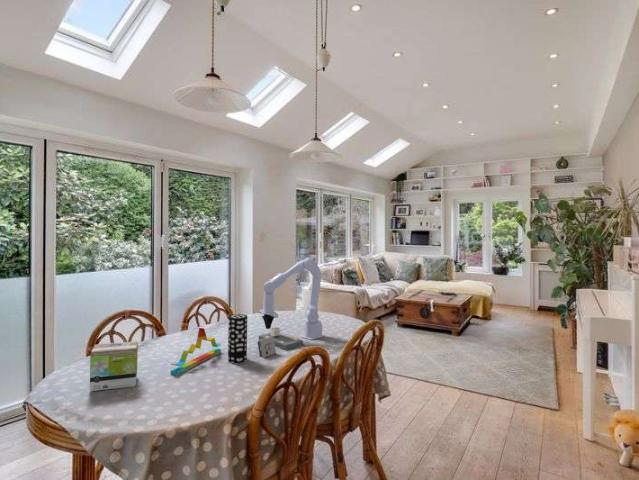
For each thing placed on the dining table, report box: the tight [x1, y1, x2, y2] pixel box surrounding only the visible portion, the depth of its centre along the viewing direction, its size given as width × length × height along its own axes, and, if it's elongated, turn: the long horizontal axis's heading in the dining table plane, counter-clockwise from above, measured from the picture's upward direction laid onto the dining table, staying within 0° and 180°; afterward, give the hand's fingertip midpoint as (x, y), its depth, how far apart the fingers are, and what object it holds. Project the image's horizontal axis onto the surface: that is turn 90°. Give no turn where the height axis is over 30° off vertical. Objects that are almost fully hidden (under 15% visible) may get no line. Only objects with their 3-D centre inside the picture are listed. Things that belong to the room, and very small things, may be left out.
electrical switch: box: [257, 336, 277, 358], centre depth 175 cm, size 8×5×8 cm, turn 141°
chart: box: [170, 327, 222, 376], centre depth 163 cm, size 30×3×15 cm, turn 160°
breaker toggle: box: [269, 327, 281, 336], centre depth 197 cm, size 4×3×4 cm
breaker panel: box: [258, 332, 304, 351], centre depth 194 cm, size 12×22×3 cm, turn 46°
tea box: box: [89, 340, 139, 393], centre depth 139 cm, size 15×10×15 cm, turn 114°
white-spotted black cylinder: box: [227, 313, 248, 364], centre depth 167 cm, size 8×8×20 cm
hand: (268, 328), depth 201 cm, fingers closed
